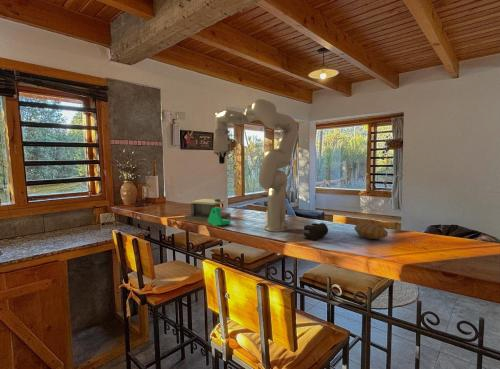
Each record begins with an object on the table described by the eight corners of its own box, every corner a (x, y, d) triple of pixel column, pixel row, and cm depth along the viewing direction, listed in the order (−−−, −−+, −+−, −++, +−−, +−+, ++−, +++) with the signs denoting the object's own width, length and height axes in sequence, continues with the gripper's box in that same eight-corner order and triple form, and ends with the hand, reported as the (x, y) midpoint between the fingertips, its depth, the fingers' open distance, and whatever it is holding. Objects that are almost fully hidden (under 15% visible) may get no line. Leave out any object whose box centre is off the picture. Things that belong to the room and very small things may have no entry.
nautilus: (363, 231, 145) (394, 238, 135) (347, 237, 128) (382, 245, 119) (364, 216, 144) (396, 221, 135) (349, 220, 128) (384, 226, 118)
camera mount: (231, 225, 161) (231, 207, 160) (220, 227, 155) (220, 208, 155) (217, 222, 169) (217, 205, 168) (207, 224, 164) (207, 206, 163)
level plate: (225, 202, 185) (225, 198, 184) (214, 204, 172) (214, 200, 172) (203, 200, 192) (203, 197, 192) (191, 203, 179) (191, 199, 179)
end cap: (316, 242, 124) (316, 227, 124) (303, 239, 129) (303, 224, 129) (328, 238, 131) (328, 223, 131) (315, 235, 136) (315, 221, 136)
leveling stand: (230, 216, 187) (230, 201, 187) (214, 221, 169) (213, 205, 169) (202, 213, 197) (202, 200, 196) (184, 219, 179) (184, 203, 178)
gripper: (235, 133, 169) (235, 163, 170) (214, 134, 175) (214, 163, 177) (229, 131, 162) (229, 163, 163) (207, 133, 168) (208, 163, 170)
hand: (221, 163), depth 170 cm, fingers closed
